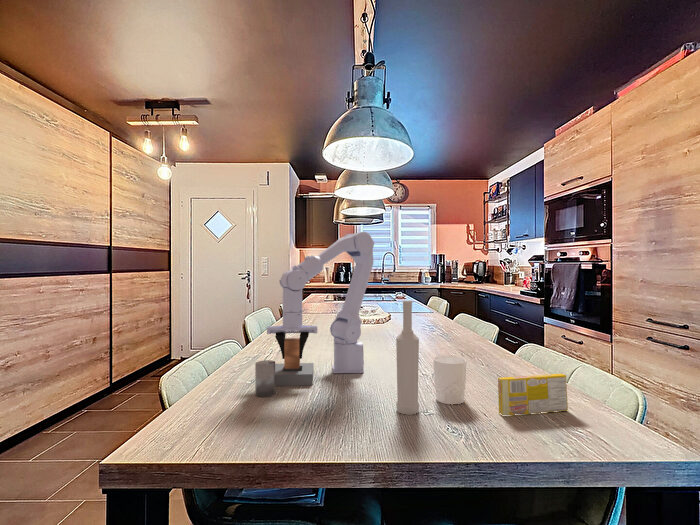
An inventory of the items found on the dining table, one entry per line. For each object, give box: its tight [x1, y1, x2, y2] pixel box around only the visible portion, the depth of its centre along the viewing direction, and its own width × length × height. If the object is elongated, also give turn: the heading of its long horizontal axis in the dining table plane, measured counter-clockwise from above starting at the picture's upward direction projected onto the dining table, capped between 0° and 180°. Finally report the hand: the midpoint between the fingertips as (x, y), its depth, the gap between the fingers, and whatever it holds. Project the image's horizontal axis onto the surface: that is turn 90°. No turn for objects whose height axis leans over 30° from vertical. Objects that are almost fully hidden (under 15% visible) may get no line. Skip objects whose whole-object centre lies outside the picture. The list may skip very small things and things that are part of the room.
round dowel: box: [254, 359, 276, 398], centre depth 95 cm, size 5×5×8 cm
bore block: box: [275, 362, 314, 387], centre depth 107 cm, size 12×12×3 cm
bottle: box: [395, 299, 420, 416], centre depth 83 cm, size 5×5×25 cm
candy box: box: [497, 373, 569, 415], centre depth 82 cm, size 16×2×8 cm, turn 100°
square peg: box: [283, 337, 301, 369], centre depth 107 cm, size 4×4×8 cm
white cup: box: [432, 355, 467, 406], centre depth 90 cm, size 8×8×10 cm
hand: (292, 358), depth 107 cm, fingers closed on square peg, 4 cm apart
